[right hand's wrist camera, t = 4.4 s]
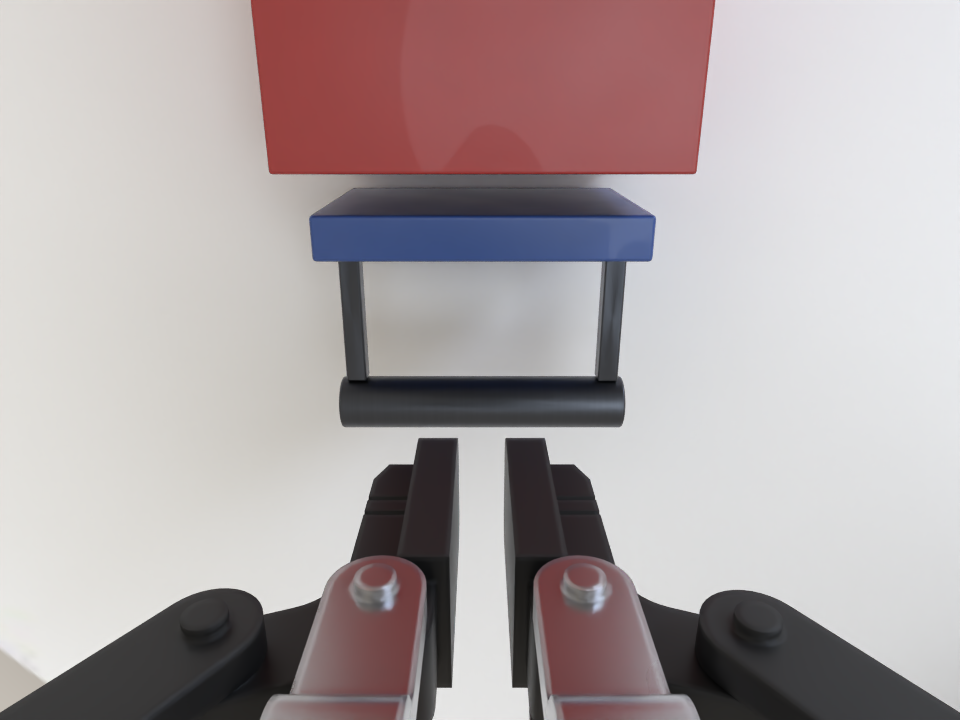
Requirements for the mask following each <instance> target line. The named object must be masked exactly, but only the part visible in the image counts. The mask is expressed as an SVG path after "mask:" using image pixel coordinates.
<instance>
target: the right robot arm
mask: <svg viewBox="0 0 960 720" xmlns="http://www.w3.org/2000/svg"><path fill="white" fill-rule="evenodd" d="M504 545H505V563H506V581H507V599H508V617H509V635H510V653H511V670H512V688H528V696H529V720H960V712H958V711H956V710H955V709H953V708H952V707H950V706H948V705H947V704H945V703H944V702H942V701H940V700H939V699H937V698H936V697H934V696H932V695H931V694H929V693H928V692H926V691H925V690H923V689H921V688H920V687H918V686H917V685H915V684H913V683H912V682H910V681H909V680H907V679H905V678H904V677H902V676H901V675H899V674H897V673H896V672H894V671H893V670H891V669H889V668H888V667H886V666H885V665H883V664H881V663H880V662H878V661H877V660H875V659H873V658H872V657H870V656H869V655H867V654H865V653H864V652H862V651H861V650H859V649H857V648H856V647H854V646H853V645H851V644H850V643H848V642H846V641H845V640H843V639H842V638H840V637H838V636H837V635H835V634H834V633H832V632H830V631H829V630H827V629H826V628H824V627H822V626H821V625H819V624H818V623H816V622H814V621H813V620H811V619H810V618H808V617H806V616H805V615H803V614H802V613H800V612H798V611H797V610H795V609H794V608H792V607H790V606H789V605H787V604H785V603H784V602H782V601H780V600H778V599H775V598H773V597H771V596H768V595H765V594H762V593H757V592H753V591H746V590H729V591H723V592H719V593H716V594H714V595H712V596H710V597H709V598H708V599H706V601H705V602H704V603H703V604H702V606H701V609H700V613H699V614H696V613H691V612H687V611H683V610H678V609H674V608H670V607H666V606H663V605H659V604H657V603H654V602H652V601H649V600H648V599H646V598H644V597H642V596H640V595H639V594H637V592H636V589H635V586H634V584H633V582H632V580H631V579H630V577H629V576H628V575H627V574H626V573H625V572H624V571H623V570H622V569H620V568H619V567H617V566H616V565H615V563H614V560H613V556H612V553H611V549H610V546H609V543H608V539H607V536H606V532H605V529H604V526H603V522H602V519H601V516H600V515H599V509H598V505H597V502H596V500H595V495H594V492H593V489H592V485H591V482H590V479H589V478H588V477H587V476H586V475H585V474H584V473H582V472H581V471H580V470H579V469H578V468H577V467H576V466H575V465H550V462H549V457H548V452H547V447H546V441H545V438H506V439H505V478H504ZM458 550H459V461H458V438H419V439H418V444H417V449H416V455H415V460H414V465H388V466H387V467H386V468H385V469H384V470H383V471H382V472H381V473H380V474H379V475H378V476H377V477H376V478H375V479H374V480H373V484H372V487H371V491H370V494H369V500H368V501H367V505H366V508H365V515H363V519H362V522H361V526H360V529H359V533H358V536H357V540H356V543H355V547H354V550H353V554H352V557H351V561H350V563H348V564H346V565H344V566H343V567H341V568H340V569H338V570H337V571H336V572H335V573H334V574H333V575H332V576H331V577H330V579H329V580H328V582H327V584H326V586H325V589H324V592H323V595H322V597H321V598H319V599H317V600H315V601H313V602H311V603H308V604H305V605H302V606H299V607H295V608H291V609H287V610H282V611H278V612H274V613H269V614H265V615H263V609H262V606H261V604H260V602H259V601H258V600H257V598H255V597H254V596H253V595H251V594H249V593H247V592H245V591H241V590H238V589H229V588H225V589H212V590H207V591H203V592H199V593H196V594H193V595H190V596H188V597H186V598H184V599H182V600H180V601H178V602H176V603H174V604H173V605H171V606H170V607H168V608H166V609H165V610H163V611H162V612H160V613H158V614H157V615H155V616H154V617H152V618H150V619H149V620H147V621H146V622H144V623H142V624H141V625H139V626H138V627H136V628H134V629H133V630H131V631H130V632H128V633H126V634H125V635H123V636H122V637H120V638H118V639H117V640H115V641H114V642H112V643H110V644H109V645H107V646H106V647H104V648H103V649H101V650H99V651H98V652H96V653H95V654H93V655H91V656H90V657H88V658H87V659H85V660H83V661H82V662H80V663H79V664H77V665H75V666H74V667H72V668H71V669H69V670H67V671H66V672H64V673H63V674H61V675H59V676H58V677H56V678H55V679H53V680H51V681H50V682H48V683H47V684H45V685H43V686H42V687H40V688H39V689H37V690H36V691H34V692H32V693H31V694H29V695H28V696H26V697H24V698H23V699H21V700H20V701H18V702H16V703H15V704H13V705H12V706H10V707H8V708H7V709H5V710H4V711H2V712H0V720H432V718H433V716H434V712H435V704H436V690H437V688H452V673H453V653H454V632H455V612H456V591H457V571H458Z"/></svg>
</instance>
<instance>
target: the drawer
mask: <svg viewBox="0 0 960 720" xmlns="http://www.w3.org/2000/svg"><path fill="white" fill-rule="evenodd" d="M309 223H310V234H311V245H312V257H313V260H314V261H317V262H338V264H339V277H340V290H341V304H342V317H343V330H344V343H345V357H346V370H347V376H346V377H344V378H343V380H342V382H341V386H340V394H339V412H340V419H341V423H342V425H343V426H344V427H620V426H622V424H623V420H624V415H625V391H624V385H623V381H622V379H621V377H619V376H618V363H619V351H620V338H621V325H622V312H623V299H624V286H625V274H626V262H648V261H651V260H652V257H653V246H654V235H655V224H656V217H655V216H654V215H652V214H651V213H649V212H647V211H646V210H644V209H643V208H641V207H639V206H638V205H636V204H635V203H633V202H631V201H630V200H628V199H627V198H625V197H623V196H622V195H620V194H619V193H617V192H615V191H614V190H612V189H610V188H354V189H352V190H350V191H349V192H347V193H345V194H344V195H342V196H341V197H339V198H338V199H336V200H335V201H333V202H331V203H330V204H328V205H327V206H325V207H324V208H322V209H321V210H319V211H317V212H316V213H314V214H313V215H311V216H310V218H309ZM362 262H602V272H601V287H600V303H599V318H598V333H597V349H596V364H595V375H596V376H368V375H369V362H368V346H367V330H366V314H365V298H364V282H363V266H362Z"/></svg>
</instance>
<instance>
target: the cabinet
mask: <svg viewBox="0 0 960 720" xmlns="http://www.w3.org/2000/svg"><path fill="white" fill-rule="evenodd" d="M251 8H252V17H253V26H254V36H255V45H256V54H257V64H258V73H259V82H260V92H261V101H262V110H263V120H264V129H265V138H266V147H267V157H268V166H269V172H270V173H271V174H695V173H696V171H697V162H698V153H699V144H700V135H701V126H702V117H703V107H704V98H705V89H706V80H707V71H708V62H709V53H710V44H711V35H712V26H713V17H714V8H715V0H251Z"/></svg>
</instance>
